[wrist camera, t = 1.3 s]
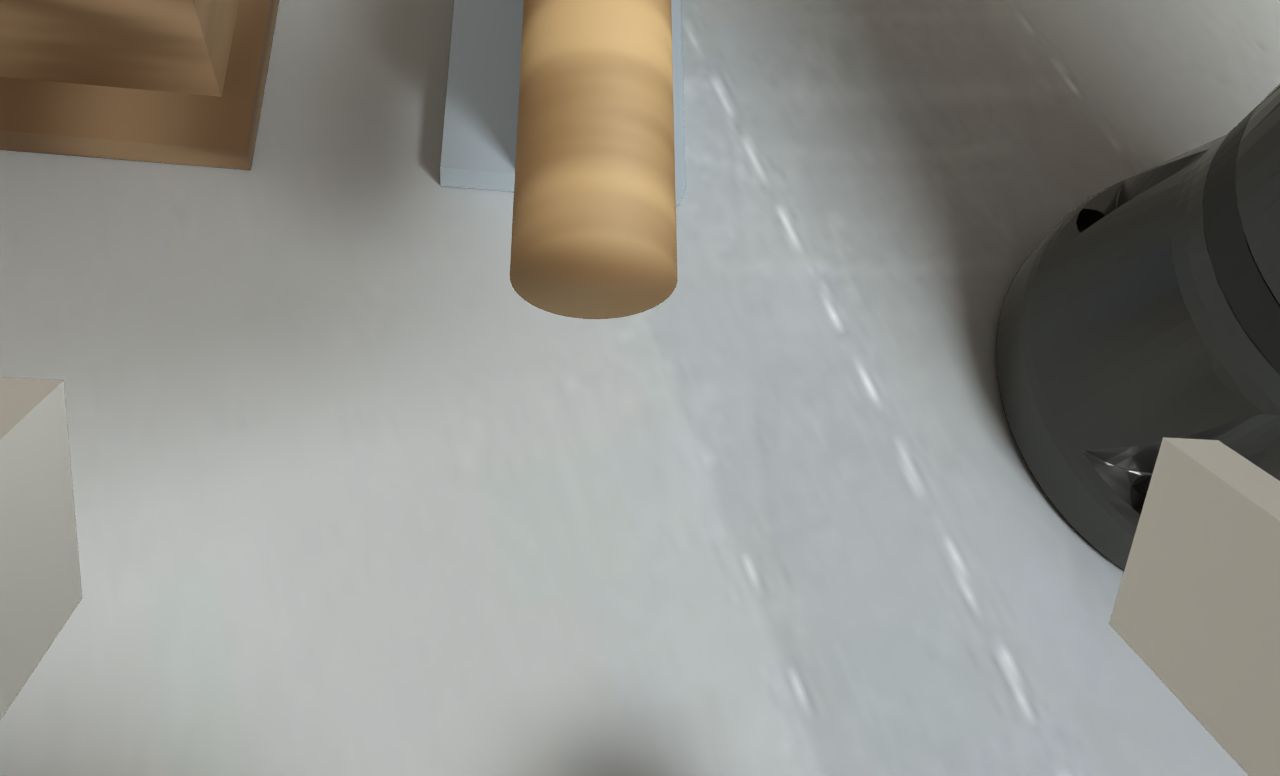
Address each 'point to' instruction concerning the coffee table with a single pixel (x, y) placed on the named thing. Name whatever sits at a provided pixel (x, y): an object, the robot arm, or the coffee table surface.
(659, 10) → the rod
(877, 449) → the coffee table surface
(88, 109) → the wooden stand
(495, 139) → the cradle
